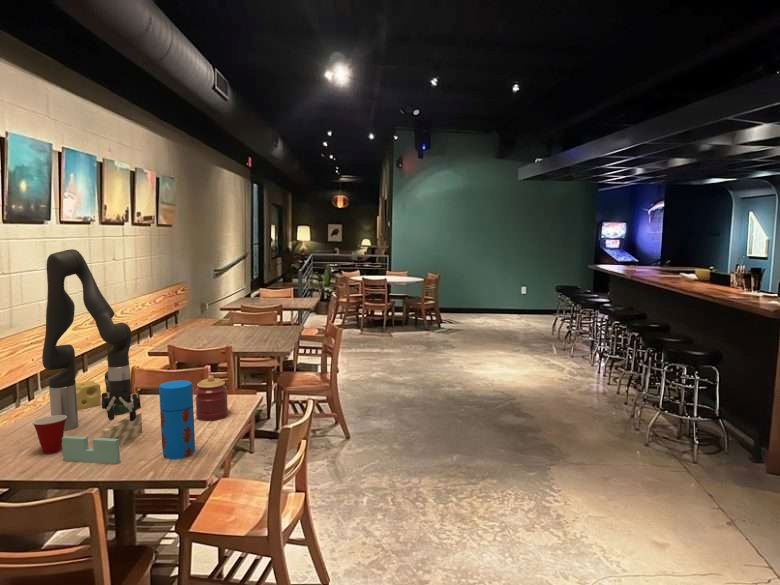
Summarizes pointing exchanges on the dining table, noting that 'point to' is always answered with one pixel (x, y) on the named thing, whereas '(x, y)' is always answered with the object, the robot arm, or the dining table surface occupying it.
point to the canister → (211, 399)
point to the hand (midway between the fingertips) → (122, 420)
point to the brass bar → (124, 429)
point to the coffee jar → (117, 408)
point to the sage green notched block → (91, 450)
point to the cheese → (88, 394)
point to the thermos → (177, 419)
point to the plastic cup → (50, 432)
